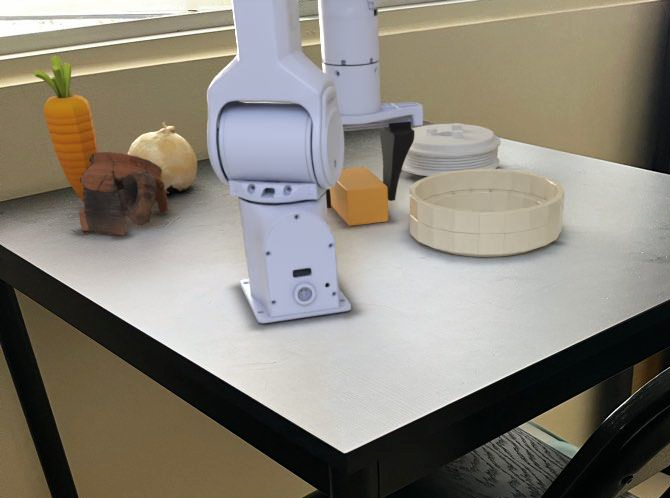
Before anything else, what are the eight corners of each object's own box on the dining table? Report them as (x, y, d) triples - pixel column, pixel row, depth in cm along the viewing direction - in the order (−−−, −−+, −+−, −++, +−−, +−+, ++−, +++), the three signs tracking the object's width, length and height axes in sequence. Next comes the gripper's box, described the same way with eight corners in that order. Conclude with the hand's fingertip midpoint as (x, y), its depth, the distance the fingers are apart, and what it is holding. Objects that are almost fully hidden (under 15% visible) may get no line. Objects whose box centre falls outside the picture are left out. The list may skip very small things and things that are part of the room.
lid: (468, 190, 101) (470, 144, 98) (377, 177, 107) (376, 133, 104) (516, 165, 110) (518, 122, 107) (429, 153, 115) (429, 112, 112)
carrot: (99, 213, 97) (64, 61, 88) (59, 211, 98) (20, 61, 89) (119, 200, 101) (88, 53, 92) (80, 198, 102) (45, 53, 93)
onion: (192, 199, 101) (182, 133, 96) (124, 200, 101) (111, 134, 96) (206, 180, 107) (197, 117, 103) (142, 181, 107) (130, 118, 103)
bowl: (586, 249, 85) (591, 201, 82) (440, 269, 81) (440, 220, 78) (521, 205, 96) (524, 162, 94) (391, 221, 93) (390, 177, 90)
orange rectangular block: (388, 221, 93) (387, 186, 91) (349, 226, 92) (347, 190, 90) (366, 199, 99) (365, 166, 97) (329, 204, 98) (326, 170, 96)
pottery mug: (59, 232, 93) (65, 152, 92) (140, 252, 100) (146, 178, 99) (113, 225, 85) (120, 137, 84) (197, 247, 92) (204, 166, 91)
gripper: (407, 50, 91) (409, 185, 100) (271, 60, 88) (285, 199, 96) (429, 60, 86) (429, 202, 94) (285, 71, 83) (299, 217, 91)
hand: (357, 202), depth 95 cm, fingers open, 7 cm apart
